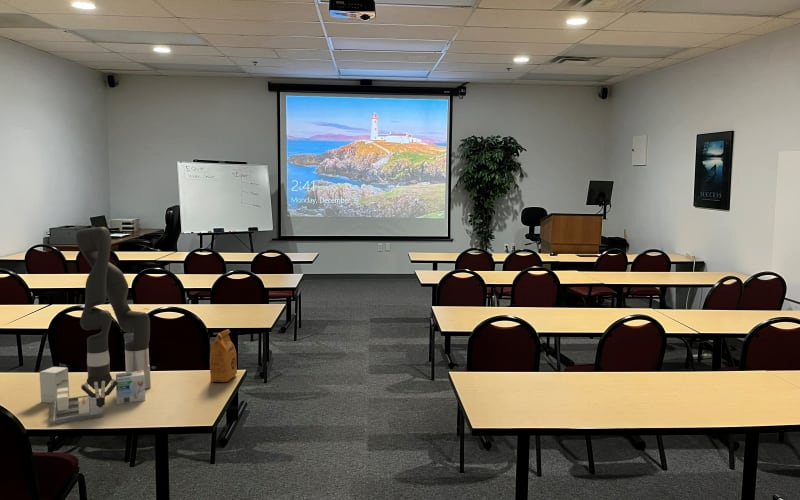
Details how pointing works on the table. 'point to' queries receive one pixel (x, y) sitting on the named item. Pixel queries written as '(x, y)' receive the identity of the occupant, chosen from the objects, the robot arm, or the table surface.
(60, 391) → the handle
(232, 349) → the coffee package
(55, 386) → the supplement box
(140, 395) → the light bulb box
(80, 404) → the block
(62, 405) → the handle
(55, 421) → the grey flat slotted panel
